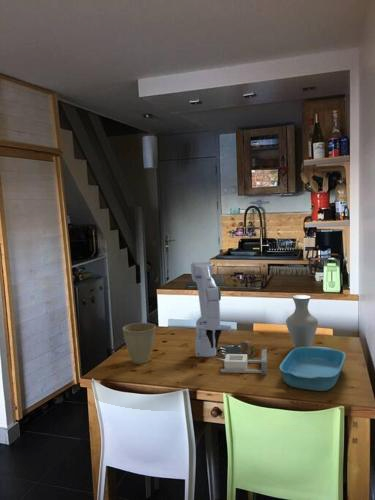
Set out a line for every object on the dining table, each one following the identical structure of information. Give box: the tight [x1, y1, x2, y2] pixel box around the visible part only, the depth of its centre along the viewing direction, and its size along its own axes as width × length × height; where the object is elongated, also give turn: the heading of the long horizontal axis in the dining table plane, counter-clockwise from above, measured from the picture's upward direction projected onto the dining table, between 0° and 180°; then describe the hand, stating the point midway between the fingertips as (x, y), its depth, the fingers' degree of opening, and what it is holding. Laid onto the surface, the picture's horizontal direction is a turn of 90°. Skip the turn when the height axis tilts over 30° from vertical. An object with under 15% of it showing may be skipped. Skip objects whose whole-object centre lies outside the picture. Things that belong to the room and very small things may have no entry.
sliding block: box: [223, 353, 249, 369], centre depth 184 cm, size 9×9×4 cm
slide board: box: [220, 358, 262, 374], centre depth 184 cm, size 20×16×2 cm
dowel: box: [240, 340, 251, 357], centre depth 198 cm, size 4×4×7 cm
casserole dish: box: [279, 345, 347, 392], centre depth 173 cm, size 37×22×7 cm, turn 154°
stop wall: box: [260, 348, 268, 376], centre depth 182 cm, size 2×15×6 cm, turn 169°
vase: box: [285, 294, 319, 348], centre depth 205 cm, size 14×14×25 cm
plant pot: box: [122, 322, 157, 365], centre depth 199 cm, size 15×15×16 cm
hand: (214, 347), depth 185 cm, fingers closed
